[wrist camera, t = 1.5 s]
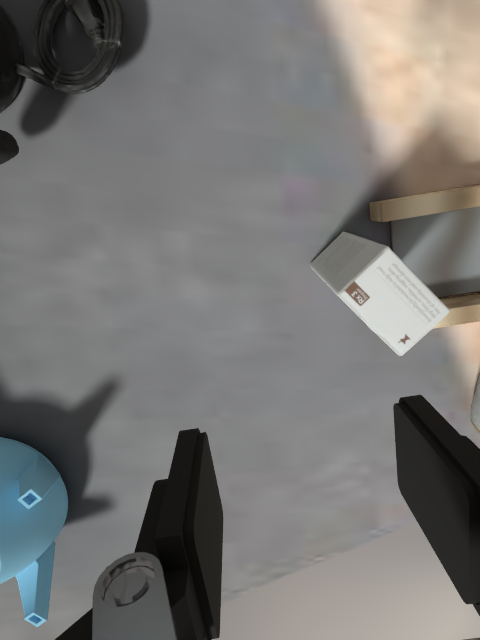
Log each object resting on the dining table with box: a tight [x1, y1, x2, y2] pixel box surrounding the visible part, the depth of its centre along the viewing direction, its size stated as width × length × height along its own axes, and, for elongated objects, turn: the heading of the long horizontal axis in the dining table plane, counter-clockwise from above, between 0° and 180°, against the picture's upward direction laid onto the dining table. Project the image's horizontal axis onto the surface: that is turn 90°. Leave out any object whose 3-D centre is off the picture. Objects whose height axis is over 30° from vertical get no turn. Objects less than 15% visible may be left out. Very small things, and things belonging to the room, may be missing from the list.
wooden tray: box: [369, 184, 480, 329], centre depth 34 cm, size 14×11×3 cm
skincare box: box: [310, 232, 450, 356], centre depth 30 cm, size 6×4×12 cm
